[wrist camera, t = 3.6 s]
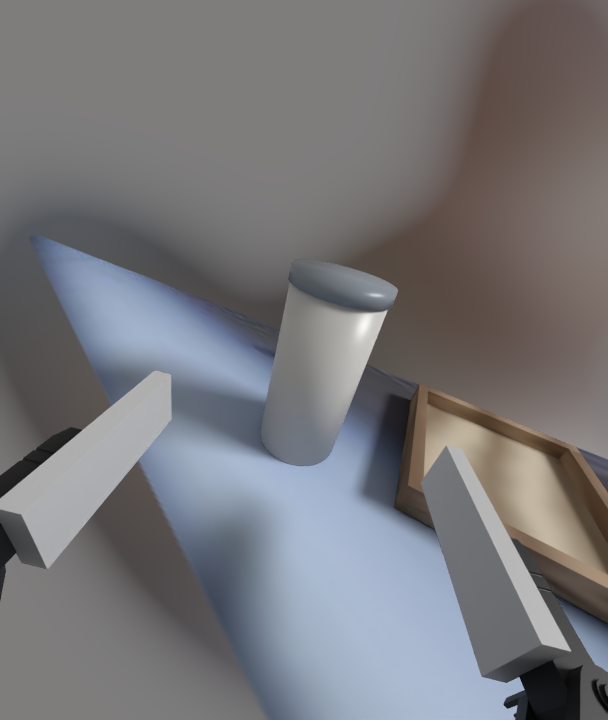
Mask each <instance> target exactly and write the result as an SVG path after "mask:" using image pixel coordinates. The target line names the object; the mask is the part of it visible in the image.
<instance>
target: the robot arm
mask: <svg viewBox="0 0 608 720" xmlns="http://www.w3.org/2000/svg"><path fill="white" fill-rule="evenodd" d="M171 419H172V410H171V374H167V373H163V372H159V371H153V372H152V373H151V374H150V375H149V376H147V377H146V378H145V379H144V380H143V381H141V382H140V383H139V384H138V385H137V386H135V387H134V388H133V389H132V390H131V391H129V392H128V393H127V394H126V395H124V396H123V397H122V398H121V399H120V400H118V401H117V402H116V403H115V404H114V405H112V406H111V407H110V408H109V409H108V410H107V411H105V412H104V413H103V414H102V415H100V416H99V417H98V418H97V419H96V420H95V421H93V422H92V423H91V424H90V425H89V426H87V427H86V428H85V429H84V430H80V429H76V428H72V427H71V428H69V429H67V430H65V431H62V432H60V433H58V434H56V435H53V436H52V437H51V438H49V439H48V440H47V441H45V442H44V443H43V444H41V445H40V446H39V447H37V449H36V450H35V451H32V452H31V453H29V454H28V455H27V456H25V457H24V458H23V460H22V461H19V462H18V463H16V464H15V465H14V466H12V467H11V468H10V469H8V470H7V471H6V472H4V473H3V474H2V475H1V476H0V599H1V593H2V588H3V583H4V578H5V573H6V569H5V564H6V563H7V562H8V561H9V560H10V559H11V558H12V556H13V555H14V554H15V553H16V554H17V556H18V557H19V559H20V561H21V562H22V563H24V564H28V565H32V566H36V567H40V568H44V569H48V568H49V567H50V566H51V564H52V563H53V562H54V561H55V560H56V558H57V557H58V556H59V555H60V554H61V552H62V551H63V550H64V549H65V548H66V546H67V545H68V544H69V543H70V541H71V540H72V539H73V538H74V537H75V535H76V534H77V533H78V532H79V531H80V529H81V528H82V527H83V526H84V525H85V523H86V522H87V521H88V520H89V519H90V517H91V516H92V515H93V514H94V512H95V511H96V510H97V509H98V508H99V506H100V505H101V504H102V503H103V502H104V500H105V499H106V498H107V497H108V496H109V494H110V493H111V492H112V491H113V490H114V488H115V487H116V486H117V485H118V483H119V482H120V481H121V480H122V479H123V477H124V476H125V475H126V474H127V473H128V471H129V470H130V469H131V468H132V467H133V465H134V464H135V463H136V462H137V461H138V459H139V458H140V457H141V456H142V454H143V453H144V452H145V451H146V450H147V448H148V447H149V446H150V445H151V444H152V442H153V441H154V440H155V439H156V438H157V436H158V435H159V434H160V433H161V432H162V430H163V429H164V428H165V427H166V425H167V424H168V423H169V422H170V421H171ZM421 486H422V489H423V492H424V495H425V498H426V501H427V505H428V508H429V511H430V514H431V517H432V520H433V524H434V527H435V530H436V533H437V536H438V540H439V543H440V546H441V549H442V552H443V555H444V559H445V562H446V565H447V568H448V571H449V574H450V578H451V581H452V584H453V587H454V590H455V594H456V597H457V600H458V603H459V606H460V609H461V613H462V616H463V619H464V622H465V625H466V628H467V632H468V635H469V638H470V641H471V644H472V648H473V651H474V654H475V657H476V660H477V663H478V667H479V670H480V673H481V676H482V677H485V678H489V679H493V680H497V681H501V682H505V683H507V682H509V681H511V680H513V679H516V678H518V677H520V679H521V682H522V684H523V687H524V689H525V690H524V691H521V692H519V693H517V694H514V695H512V696H510V697H508V698H506V700H505V702H504V706H505V707H506V708H507V709H508V708H511V707H513V706H516V705H518V707H517V713H515V714H514V717H515V718H516V719H515V720H608V673H607V672H606V671H605V670H603V669H602V668H601V667H599V666H596V665H595V664H594V662H593V661H592V659H591V658H590V656H589V654H588V653H587V651H586V649H585V648H584V646H583V644H582V642H581V641H580V639H579V637H578V635H577V634H576V632H575V630H574V628H573V627H572V625H571V623H570V622H569V620H568V618H567V616H566V615H565V613H564V611H563V609H562V608H561V606H560V604H559V602H558V601H557V599H556V597H555V595H554V594H552V593H551V589H550V587H549V585H548V583H547V582H546V580H545V578H543V577H542V573H541V571H540V569H539V568H538V566H537V564H536V562H535V561H534V559H533V557H532V556H531V555H530V553H529V552H528V551H527V550H526V549H525V548H524V546H523V545H522V544H521V543H520V542H519V540H518V539H514V538H510V537H509V535H508V533H507V531H506V529H505V528H504V526H503V524H502V522H501V520H500V518H499V516H498V515H497V513H496V511H495V509H494V507H493V505H492V504H491V502H490V500H489V498H488V496H487V494H486V492H485V491H484V489H483V487H482V485H481V483H480V481H479V480H478V478H477V476H476V474H475V472H474V470H473V468H472V467H471V465H470V463H469V461H468V459H467V457H466V455H465V454H464V452H463V450H462V449H460V448H456V447H452V446H448V445H446V446H445V448H444V449H443V450H442V452H441V453H440V455H439V456H438V458H437V459H436V461H435V462H434V464H433V465H432V467H431V468H430V470H429V471H428V473H427V474H426V475H425V477H424V478H423V480H422V481H421Z"/></svg>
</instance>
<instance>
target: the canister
mask: <svg viewBox="0 0 608 720" xmlns="http://www.w3.org/2000/svg"><path fill="white" fill-rule="evenodd" d="M288 278H289V279H288V280H289V282H290V285H289V290H288V294H287V299H286V305H285V309H284V314H283V319H282V324H281V329H280V334H279V339H278V344H277V349H276V354H275V359H274V364H273V369H272V374H271V379H270V383H269V388H268V393H267V398H266V403H265V408H264V413H263V418H262V423H261V428H260V437H261V440H262V443H263V445H264V446H265V448H266V449H267V450H268V451H269V452H270V453H271V454H272V455H273V456H274V457H276V458H277V459H279V460H281V461H283V462H285V463H288V464H291V465H296V466H311V465H315V464H318V463H320V462H322V461H324V460H325V459H326V458H327V457H328V456H329V455H330V453H331V451H332V449H333V446H334V444H335V441H336V439H337V436H338V434H339V431H340V429H341V426H342V424H343V421H344V419H345V416H346V414H347V411H348V409H349V406H350V403H351V401H352V398H353V396H354V393H355V391H356V388H357V386H358V383H359V381H360V378H361V376H362V373H363V371H364V368H365V366H366V363H367V361H368V358H369V355H370V353H371V351H372V348H373V346H374V343H375V341H376V338H377V335H378V333H379V330H380V328H381V325H382V323H383V320H384V318H385V315H386V313H387V310H389V309H390V308H391V307H392V305H393V302H394V299H395V297H396V295H397V292H398V290H397V288H396V287H395V286H393V285H392V284H390V283H388V282H387V281H384V280H382V279H380V278H378V277H375V276H373V275H370V274H367V273H364V272H361V271H358V270H355V269H351V268H348V267H345V266H341V265H336V264H332V263H328V262H322V261H316V260H308V259H297V260H293V261H292V262H291V268H290V272H289V277H288Z"/></svg>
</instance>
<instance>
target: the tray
mask: <svg viewBox="0 0 608 720" xmlns="http://www.w3.org/2000/svg"><path fill="white" fill-rule="evenodd" d="M446 445H448V446H452V447H456V448H460V449H462V450H463V452H464V454H465V455H466V457H467V459H468V461H469V463H470V465H471V467H472V468H473V470H474V472H475V474H476V476H477V478H478V480H479V481H480V483H481V485H482V487H483V489H484V491H485V492H486V494H487V496H488V498H489V500H490V502H491V504H492V505H493V507H494V509H495V511H496V513H497V515H498V516H499V518H500V520H501V522H502V524H503V526H504V528H505V529H506V531H507V533H508V535H509V537H510V538H514V539H518V540H519V542H520V543H521V544H522V545H523V546H524V548H525V549H526V550H527V551H528V552H529V553H530V555H531V556H532V557H533V559H534V561H535V562H536V564H537V566H538V568H539V569H540V571H541V573H542V577H543V578H545V580H546V582H547V583H548V585H549V587H550V589H551V593H553V594H555V595H556V596H558V597H560V598H562V599H564V600H566V601H567V602H569V603H571V604H573V605H575V606H577V607H579V608H580V609H582V610H584V611H586V612H588V613H590V614H591V615H593V616H595V617H597V618H599V619H601V620H602V621H604V622H606V623H608V493H607V491H606V490H605V488H604V487H603V485H602V484H601V482H600V481H599V480H598V478H597V477H596V475H595V474H594V472H593V471H592V469H591V468H590V467H589V465H588V464H587V462H586V461H585V459H584V458H583V456H582V455H581V454H580V452H579V451H578V449H577V448H576V447H574V446H572V445H569V444H567V443H565V442H562V441H560V440H557V439H555V438H552V437H550V436H547V435H545V434H542V433H540V432H538V431H535V430H533V429H530V428H528V427H525V426H523V425H520V424H518V423H515V422H513V421H511V420H508V419H506V418H503V417H501V416H498V415H496V414H493V413H491V412H488V411H486V410H484V409H481V408H479V407H476V406H474V405H471V404H469V403H466V402H464V401H461V400H459V399H456V398H454V397H452V396H449V395H447V394H444V393H442V392H439V391H437V390H434V389H432V388H430V387H427V386H424V385H422V384H419V386H418V387H417V389H416V391H415V393H414V395H413V397H412V399H411V402H410V408H409V415H408V421H407V428H406V434H405V440H404V447H403V453H402V460H401V466H400V472H399V479H398V485H397V491H396V498H395V504H394V507H395V508H397V509H398V510H400V511H402V512H404V513H406V514H408V515H409V516H411V517H413V518H415V519H417V520H419V521H420V522H422V523H424V524H426V525H428V526H430V527H431V528H433V529H435V527H434V524H433V520H432V517H431V514H430V511H429V508H428V505H427V501H426V498H425V495H424V492H423V489H422V486H421V481H422V480H423V478H424V477H425V475H426V474H427V473H428V471H429V470H430V468H431V467H432V465H433V464H434V462H435V461H436V459H437V458H438V456H439V455H440V453H441V452H442V450H443V449H444V448H445V446H446Z"/></svg>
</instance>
